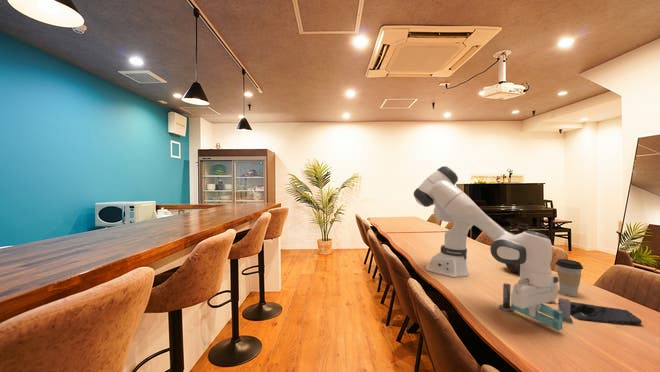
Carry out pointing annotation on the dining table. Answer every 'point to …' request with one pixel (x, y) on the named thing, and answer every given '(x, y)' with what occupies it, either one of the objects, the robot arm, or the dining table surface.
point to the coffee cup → (569, 276)
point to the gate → (552, 322)
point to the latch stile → (565, 309)
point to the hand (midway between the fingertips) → (533, 315)
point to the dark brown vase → (516, 267)
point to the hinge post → (506, 298)
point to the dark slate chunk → (602, 314)
